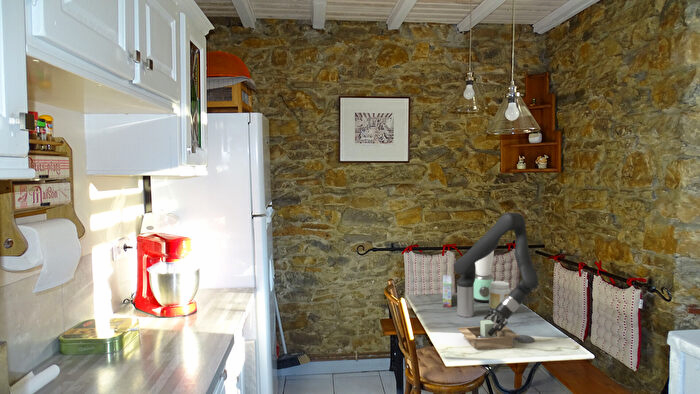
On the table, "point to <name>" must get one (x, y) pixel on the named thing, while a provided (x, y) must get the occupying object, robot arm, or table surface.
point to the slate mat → (524, 339)
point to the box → (486, 328)
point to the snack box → (447, 291)
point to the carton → (501, 341)
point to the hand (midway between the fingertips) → (485, 331)
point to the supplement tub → (497, 293)
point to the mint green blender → (483, 278)
